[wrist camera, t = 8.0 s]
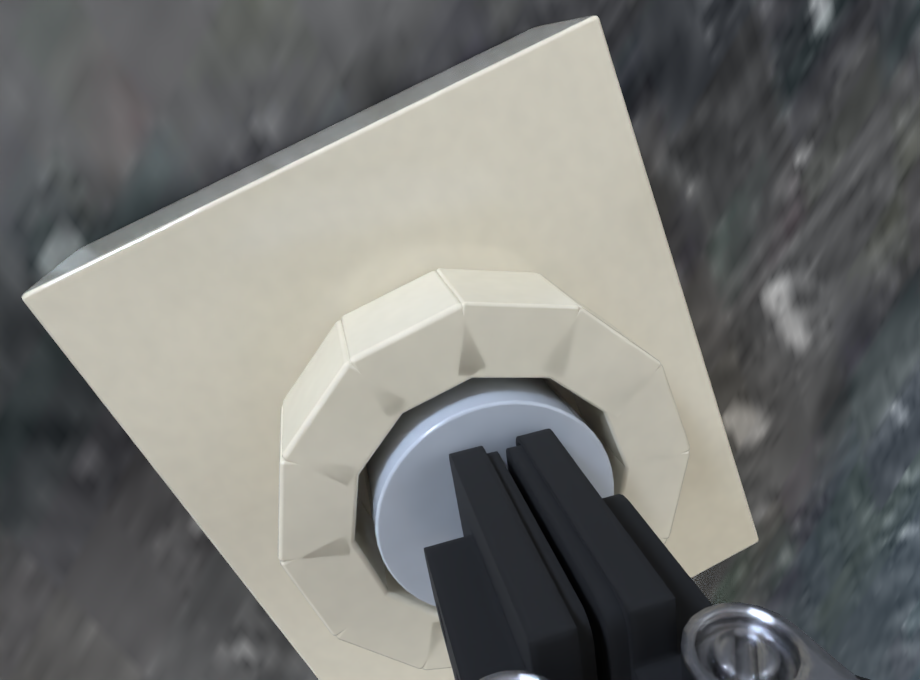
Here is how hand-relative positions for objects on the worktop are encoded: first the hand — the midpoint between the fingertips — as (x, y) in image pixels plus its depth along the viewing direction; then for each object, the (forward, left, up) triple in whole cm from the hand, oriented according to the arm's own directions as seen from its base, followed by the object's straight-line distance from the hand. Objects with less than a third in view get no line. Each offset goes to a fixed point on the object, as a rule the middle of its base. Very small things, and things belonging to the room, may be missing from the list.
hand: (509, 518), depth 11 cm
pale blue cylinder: (0, 0, -2) cm, 2 cm away
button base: (0, 0, -5) cm, 5 cm away
